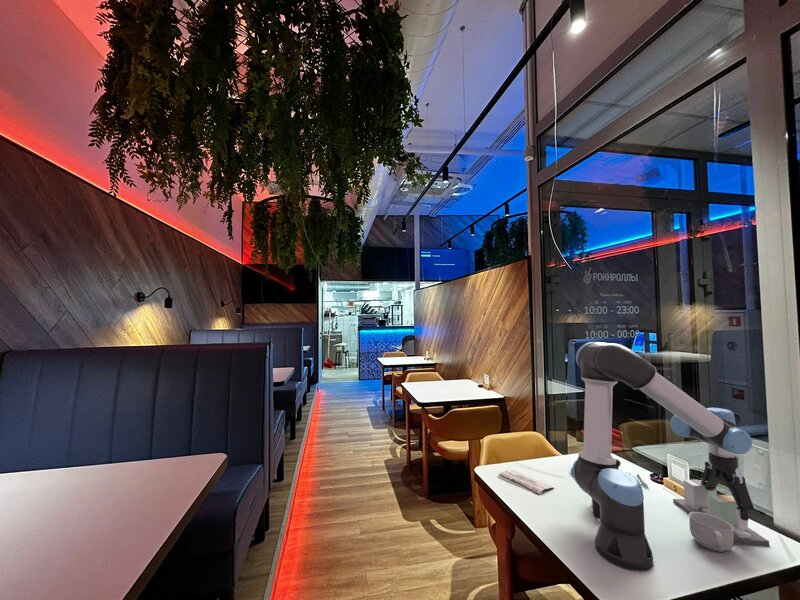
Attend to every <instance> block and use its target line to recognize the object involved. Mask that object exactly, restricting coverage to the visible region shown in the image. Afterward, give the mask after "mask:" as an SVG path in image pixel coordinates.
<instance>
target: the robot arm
mask: <svg viewBox="0 0 800 600" xmlns="http://www.w3.org/2000/svg"><path fill="white" fill-rule="evenodd" d="M575 362H576V364H577V366H578V368H579V369H580V378H581V380H582V381H583V382H584V385H585V386H584V387H585V388H584V390H585V391H584V416H583V418H584V419H583V448H582V450H580V452H579V451H578V457H577V459H576V460H575V461H574V462H573V464H572V467H573V468H572V467H571V468H572V471H571V473H572V477H573V479H574V481H575V483H576V484H577V485H578V487H579V488H580V489H581V490H582V491H583V492H584V493H585V494H587V495H588V496H589V497H591V499H592V498H593V499H594V500H595V501H596V502H597V503H598V504H599V505H600V519H599V520H600V522H599V525H598V527H597V528H598V529H597V532H596V534H595V537H594V547H595V550H596V552H597V553H598V554H599V556H600V557H602V558H603V559H604V560H606V561H607V562H608V563H610V564H613V565H615V566H617V567H619V568H622V569H625V570H630V571H633V572H644V571H645V572H647V571H649V570H651V569H652V568H653V567H654V554H653V552H652V551H653V550H652V548H651V546H650V543H649V540H648V539H647V538H648V537H647V536H646V533H645V532H646V530H645V509H644V508H645V507H644V506H645V505H644V499H645V498H644V497H645V496H644V492H643V486H642V483H641V481H640V480H639V479H638V478H637V477H635V476H634V475H632V474H631V473H630V472H627V471H626V472H625V471H623V470H622V469H619V468H618V469H619V470H618V469H616V460H615V459H616V458H614V457H613V455H612V440H613V439H612V436H613V435H612V433H613V429H612V427H613V426H612V425H613V392H614V391H613V388H614V386H615V385H617V384H618V382H619V381H620V382H621V383H624V384H626V385H627V386H629V387H630V388H632V390H640V391H641V392H642V393H643V394H645V395H647V396H648V397H649V398H651V399H652V400H653V401H655V402H656V403H658V404H659V405H660V406H661V407H663V408H665V409H666V410H667V411H668V412H670V413H671V414H672V415H673V416H671V418H670V427H671V428H670V429H672V431H673V433H674V434H675V436H676V435H677V436H678V437H681V438H687V439H688V438H694V439H696V440H699V441H701V442H703V443H707V450H708V461H704V470H703V474H702V478H701V484H702V485H704V486H705V489H706V491H707V499H708V495H718V493H717V486H718V485H719V483H720V482H722V483H724V484H725V486H726V487H728V489H729V491H730V493H731V496H733V498H734V500H735V502H736V504H737V506H738V507H737V508H736V516H737V528H738V529H743V530H748V528H749V522H748V521H749V511H751V512H752V511H753V512H754V511H755V507H754V505H753V502H752V499H751V496H750V493H749V491H748V487H747V485H746V478H745V476H739V475H737V473H736V470H737V469H738V468H739V458H738V457H737V456H738V455H744V454H747V453H748V452H749V451H750V450H751V449H752V447H753V439H752V438H751V436H750V434H749V433H748V432H746V431H745V430H743V429H740V428H739V427H736V425H737V423H736V417H735V414H734V412H733V411H731V410H730V409H726V408H719V407H705V406H704V405H702V404H701V403H700V402H698V401H696V400H695V399H694V398H693V397H691V396H690V395H688V394H687V392H684V391H683V390H681V389H680V388H679V387H677V386H676V385H675V384H673V383H672V382H671V381H669V380H668V379H667V378H665V377H664V375H663V376H662V375H661V374H660V373H659V372H657V368H656V366H655V365H653V364H652V363H650V362H649V361H648V360H646V359H645V358H644V357H642V356H641V355H639V354H638V353H636V352H635V351H633V350H632V349H630V348H628V347H626V346H624V345H622V344H619V343H614V342H612V343H611V342H610V343H609V342H601V341H590V342H587V343H584V344H583V345H581V346H580V347H579V348H578V350H577V351H576V353H575ZM629 473H630V474H629ZM706 481H707V482H706ZM715 490H716V491H715ZM741 504H742V505H741ZM708 509H709V500H708Z"/></svg>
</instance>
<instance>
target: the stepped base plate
mask: <svg viewBox="0 0 800 600" xmlns="http://www.w3.org/2000/svg"><path fill="white" fill-rule="evenodd" d="M701 480H702V479H701ZM701 480H700V479H683V494H684V495H683V496H684V499H683V498H673V501H672V503H673V504H675V505H676V506H677V507H679V508H680V509H681V510H683V511H684V512H685V513H686V514H687V515H689V513H691V512H702V513H707V514H709V509H708V499H707V491H706V489H705V486H704V485H702V484H701ZM706 482H707V481H706ZM715 491H717V489H716V490H715ZM733 527H734V541H733V545H745V546H746V545H748V546H749V545H750V546H765V547H769V546H770V540H768V539H767V538H765V537H763V536H762V535H761V534H759V533H758V532H756V531H754V530H753V529H751V528H749V527H748V530H747V531H744V530H743V529H738V528H737V526H733Z"/></svg>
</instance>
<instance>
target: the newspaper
mask: <svg viewBox="0 0 800 600" xmlns="http://www.w3.org/2000/svg"><path fill="white" fill-rule="evenodd" d="M497 477H498V478H500V479H502V480H505V481H506V482H507V481H508V482H510V483H511V484H514V485H516V486H518V487H520V488H522V489H524V490H525V491H527V492H529V493H530V492H531V493H534V494H538V495H541V494H544V493H543V492H542V491H545V490H548V489H552V488H554V489H556V488H555V487H554V486H551V485H549V484H546V483H544V482H541V481H539V480H537V479H534V478H533V477H531V476H527V475H525V474H523V473H520V472H518V471H516V470H513V469H511V470H510V469H509V470H504V471H502V472H499V473H498V476H497Z"/></svg>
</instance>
